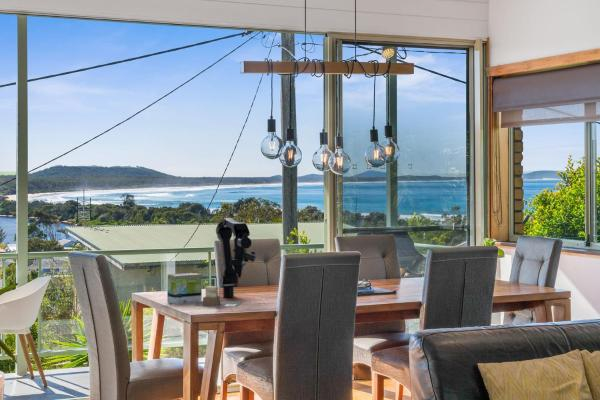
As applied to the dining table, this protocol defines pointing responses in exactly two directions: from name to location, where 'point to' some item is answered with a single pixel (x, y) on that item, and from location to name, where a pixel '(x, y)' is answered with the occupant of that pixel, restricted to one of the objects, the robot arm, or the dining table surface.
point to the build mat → (222, 304)
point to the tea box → (184, 288)
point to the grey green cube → (211, 291)
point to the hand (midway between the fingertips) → (239, 277)
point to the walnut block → (211, 301)
